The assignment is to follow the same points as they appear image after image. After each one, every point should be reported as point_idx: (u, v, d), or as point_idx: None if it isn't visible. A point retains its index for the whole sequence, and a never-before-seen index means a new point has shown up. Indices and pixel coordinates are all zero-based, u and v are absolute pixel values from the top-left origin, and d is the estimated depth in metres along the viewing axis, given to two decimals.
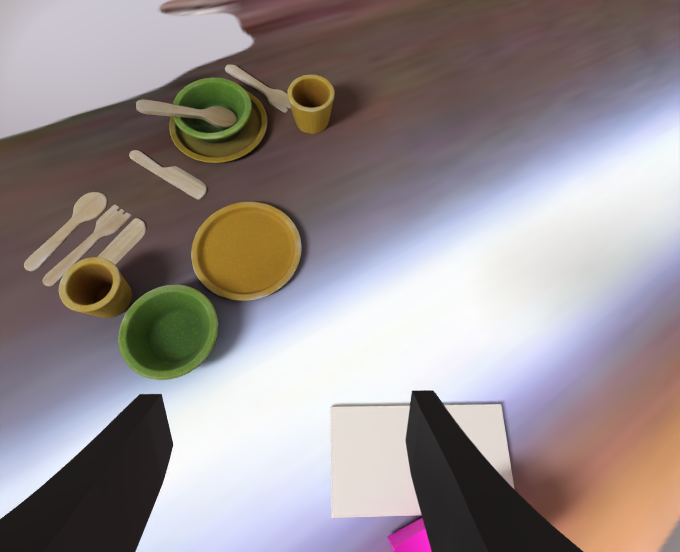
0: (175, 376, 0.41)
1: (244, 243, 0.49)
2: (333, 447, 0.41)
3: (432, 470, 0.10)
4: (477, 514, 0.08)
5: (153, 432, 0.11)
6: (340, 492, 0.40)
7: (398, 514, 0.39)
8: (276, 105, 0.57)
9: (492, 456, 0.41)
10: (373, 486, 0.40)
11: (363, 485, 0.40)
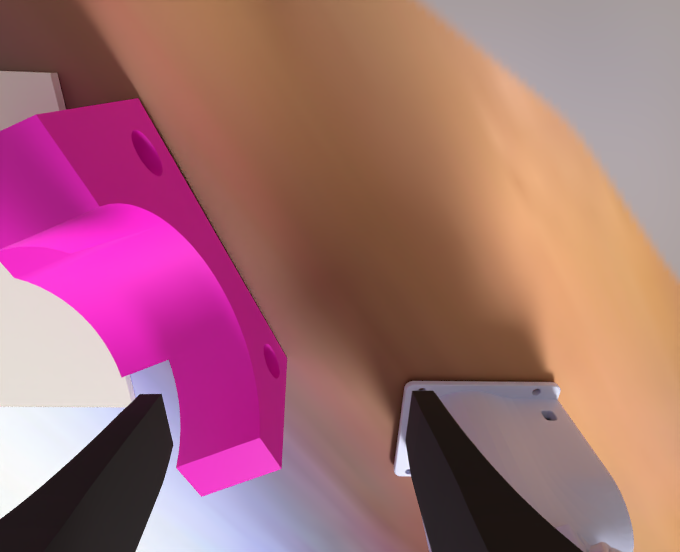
0: None
1: None
2: (25, 403, 0.24)
3: (432, 470, 0.10)
4: (477, 514, 0.08)
5: (153, 432, 0.11)
6: (93, 395, 0.24)
7: None
8: None
9: None
10: (71, 351, 0.23)
11: (74, 365, 0.23)
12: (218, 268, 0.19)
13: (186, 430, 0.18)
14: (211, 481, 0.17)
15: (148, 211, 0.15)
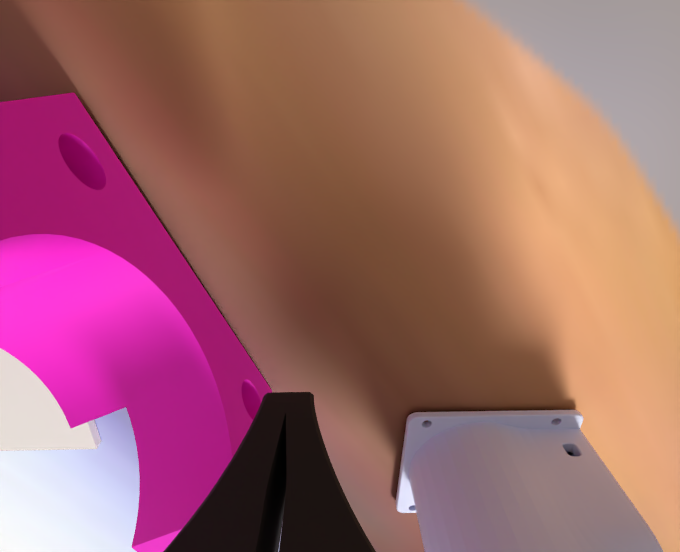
0: None
1: None
2: None
3: None
4: (289, 519, 0.08)
5: None
6: (50, 437, 0.21)
7: None
8: None
9: None
10: (20, 389, 0.20)
11: (24, 405, 0.20)
12: (182, 297, 0.16)
13: (146, 496, 0.15)
14: None
15: (78, 238, 0.11)
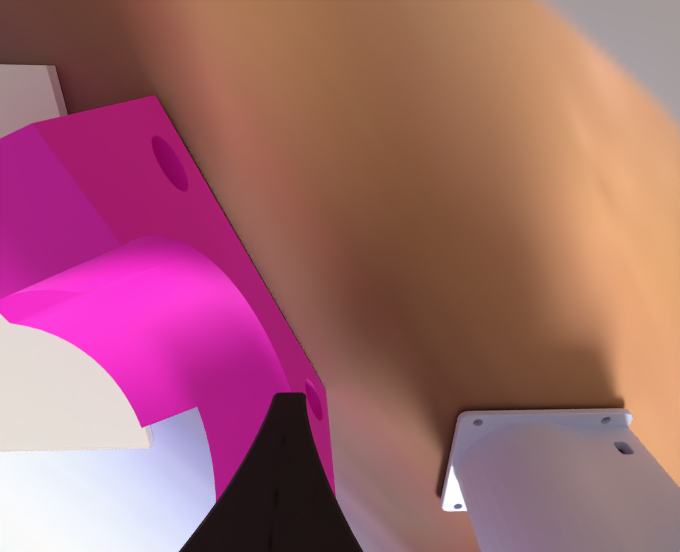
0: None
1: None
2: (28, 447, 0.21)
3: None
4: (278, 520, 0.08)
5: None
6: (105, 437, 0.21)
7: None
8: None
9: None
10: (79, 389, 0.20)
11: (83, 405, 0.20)
12: (254, 298, 0.16)
13: None
14: None
15: (178, 240, 0.11)
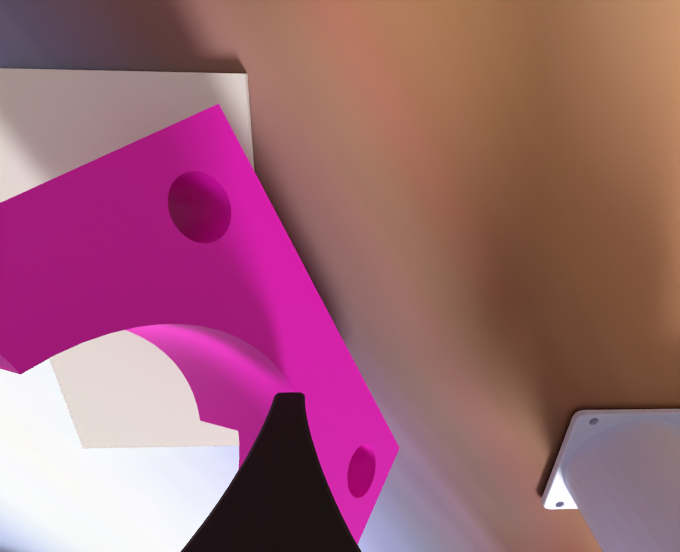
0: None
1: None
2: (156, 443, 0.22)
3: None
4: (276, 520, 0.08)
5: None
6: (232, 434, 0.22)
7: None
8: None
9: (107, 124, 0.15)
10: None
11: None
12: (299, 358, 0.13)
13: None
14: None
15: (158, 324, 0.10)
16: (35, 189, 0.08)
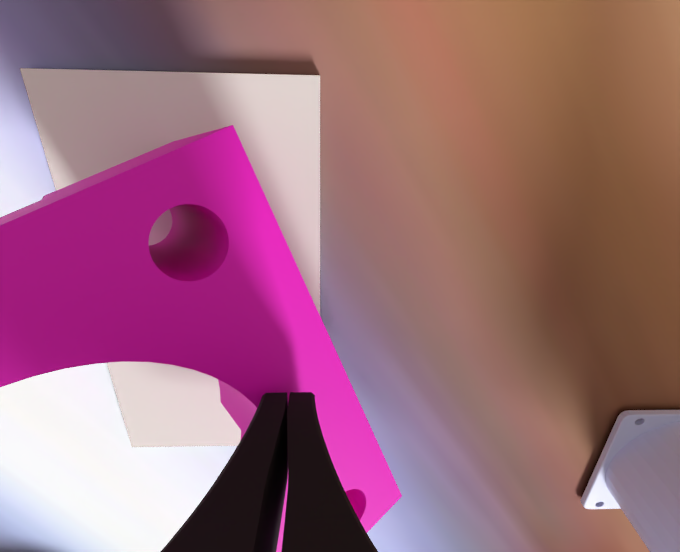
0: None
1: None
2: (204, 442, 0.22)
3: None
4: (291, 519, 0.08)
5: (285, 430, 0.11)
6: None
7: None
8: None
9: (180, 125, 0.15)
10: None
11: None
12: (288, 400, 0.12)
13: None
14: None
15: (120, 361, 0.10)
16: None
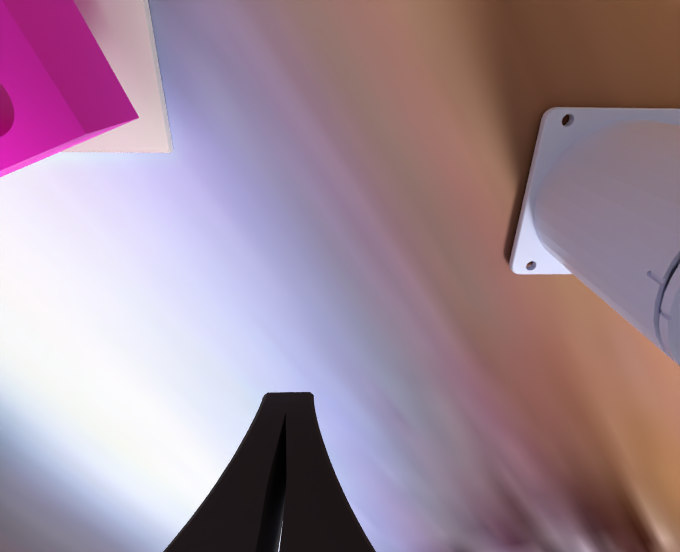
0: None
1: None
2: None
3: None
4: (289, 520, 0.08)
5: None
6: (115, 131, 0.18)
7: None
8: None
9: None
10: None
11: None
12: None
13: None
14: None
15: None
16: None
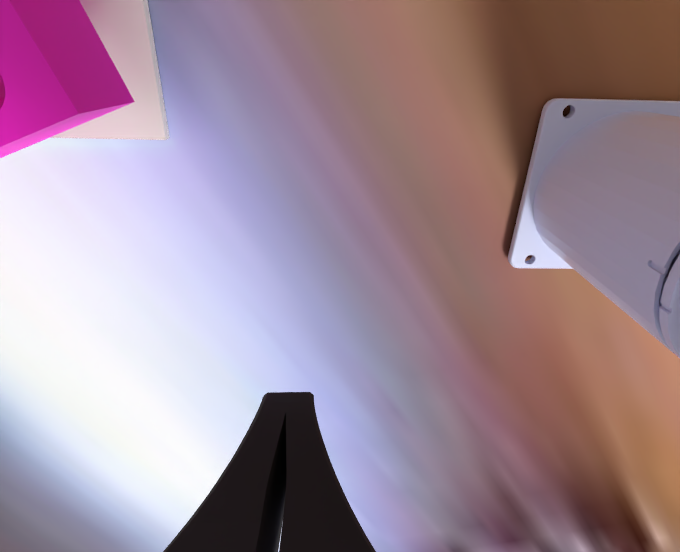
0: None
1: None
2: None
3: None
4: (289, 519, 0.08)
5: None
6: (111, 117, 0.17)
7: None
8: None
9: None
10: None
11: None
12: None
13: None
14: None
15: None
16: None
